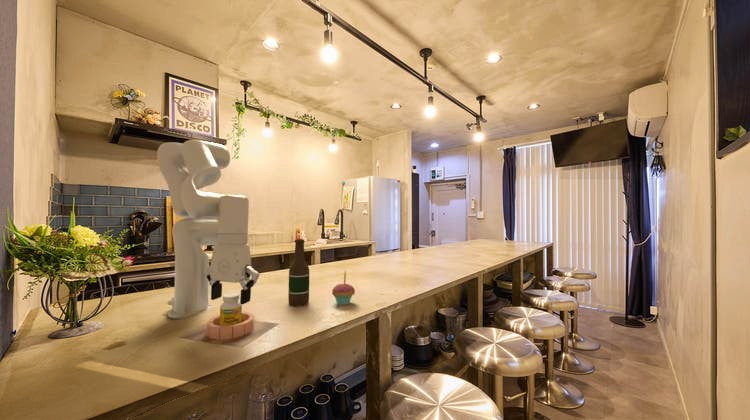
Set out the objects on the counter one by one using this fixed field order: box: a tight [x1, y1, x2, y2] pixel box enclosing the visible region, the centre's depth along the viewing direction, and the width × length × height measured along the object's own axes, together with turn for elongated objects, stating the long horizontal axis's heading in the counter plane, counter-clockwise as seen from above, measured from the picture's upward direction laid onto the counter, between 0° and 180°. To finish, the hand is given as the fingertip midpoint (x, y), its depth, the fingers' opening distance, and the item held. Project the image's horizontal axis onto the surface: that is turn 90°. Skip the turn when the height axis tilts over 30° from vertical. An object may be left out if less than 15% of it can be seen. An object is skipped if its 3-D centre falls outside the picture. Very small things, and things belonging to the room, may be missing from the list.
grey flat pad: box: [178, 320, 279, 349], centre depth 77 cm, size 20×15×1 cm
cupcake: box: [331, 270, 356, 306], centre depth 105 cm, size 9×8×12 cm
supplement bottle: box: [219, 292, 243, 326], centre depth 77 cm, size 5×5×10 cm
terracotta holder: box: [206, 311, 255, 340], centre depth 77 cm, size 11×11×3 cm
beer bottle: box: [287, 238, 310, 307], centre depth 104 cm, size 8×8×24 cm
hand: (230, 300), depth 77 cm, fingers open, 9 cm apart
